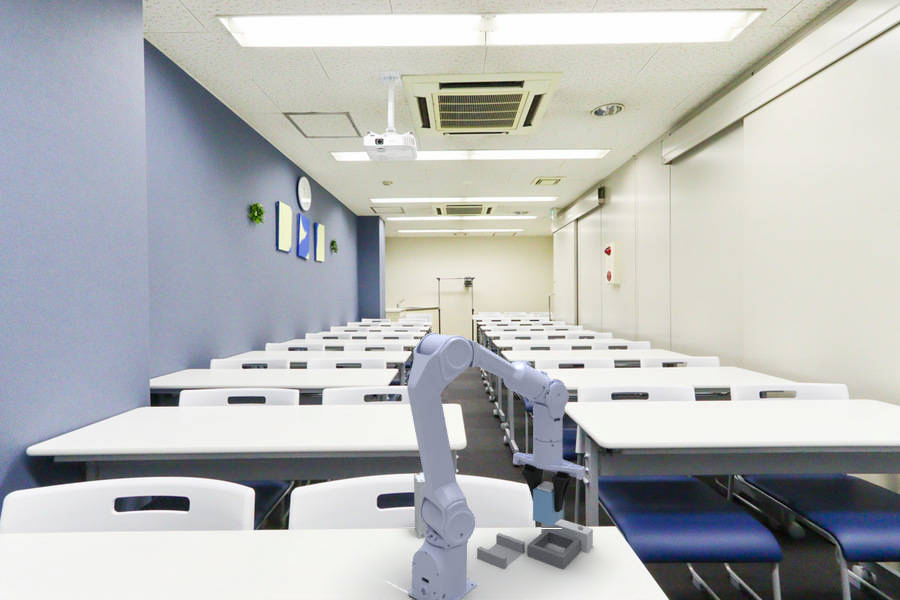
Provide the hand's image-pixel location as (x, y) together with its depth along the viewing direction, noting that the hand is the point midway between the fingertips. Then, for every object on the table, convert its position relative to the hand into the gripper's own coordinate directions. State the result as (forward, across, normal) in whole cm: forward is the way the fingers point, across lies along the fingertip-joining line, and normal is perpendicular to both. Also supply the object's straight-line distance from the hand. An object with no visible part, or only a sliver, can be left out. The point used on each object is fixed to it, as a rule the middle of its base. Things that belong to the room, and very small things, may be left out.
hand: (547, 507), depth 91 cm
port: (+10, -1, -2) cm, 10 cm away
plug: (+2, 0, 0) cm, 2 cm away
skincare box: (+10, +25, +8) cm, 28 cm away
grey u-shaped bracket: (+9, +7, +6) cm, 13 cm away
